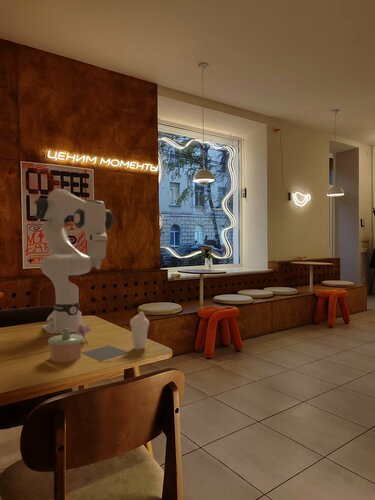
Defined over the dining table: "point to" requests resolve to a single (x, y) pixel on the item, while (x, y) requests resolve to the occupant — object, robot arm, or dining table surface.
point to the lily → (83, 330)
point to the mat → (104, 352)
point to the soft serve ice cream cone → (139, 330)
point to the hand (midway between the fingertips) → (95, 268)
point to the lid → (65, 338)
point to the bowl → (66, 353)
